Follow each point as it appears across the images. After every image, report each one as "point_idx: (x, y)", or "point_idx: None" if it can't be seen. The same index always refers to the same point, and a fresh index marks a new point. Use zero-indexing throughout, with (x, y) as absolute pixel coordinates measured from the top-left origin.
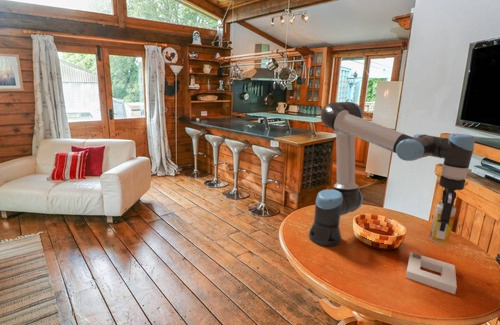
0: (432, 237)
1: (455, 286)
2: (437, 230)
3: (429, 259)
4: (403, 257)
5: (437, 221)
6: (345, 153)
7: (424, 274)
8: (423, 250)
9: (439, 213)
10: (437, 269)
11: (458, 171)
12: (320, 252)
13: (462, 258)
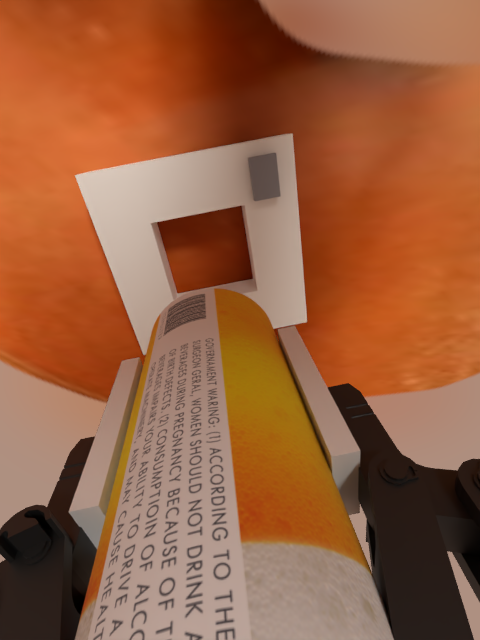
0: (158, 322)
1: (146, 351)
2: (106, 409)
3: (283, 234)
4: (269, 105)
5: (23, 509)
6: None
7: (123, 249)
8: (411, 175)
9: (77, 631)
10: (252, 269)
11: None
12: None
13: (427, 313)
